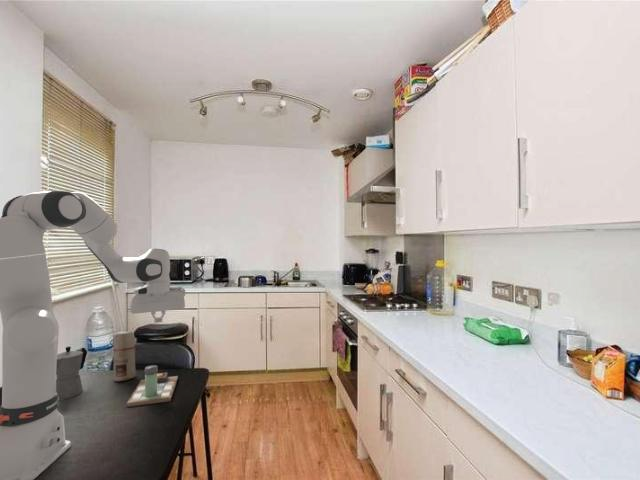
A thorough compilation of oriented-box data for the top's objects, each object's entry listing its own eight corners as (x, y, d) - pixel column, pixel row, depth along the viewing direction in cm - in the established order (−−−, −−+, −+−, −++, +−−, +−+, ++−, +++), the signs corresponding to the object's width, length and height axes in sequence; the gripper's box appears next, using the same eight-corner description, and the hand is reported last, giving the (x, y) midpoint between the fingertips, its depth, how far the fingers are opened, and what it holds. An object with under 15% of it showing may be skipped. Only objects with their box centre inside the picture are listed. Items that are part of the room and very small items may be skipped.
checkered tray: (170, 401, 120) (170, 391, 120) (126, 406, 116) (126, 397, 116) (177, 378, 141) (177, 371, 141) (141, 383, 137) (141, 375, 137)
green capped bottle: (151, 398, 119) (151, 369, 120) (142, 396, 121) (142, 368, 121) (160, 393, 123) (160, 365, 124) (151, 391, 125) (151, 364, 125)
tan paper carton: (108, 381, 140) (108, 333, 140) (124, 374, 148) (124, 328, 148) (123, 383, 137) (124, 334, 138) (140, 375, 145) (140, 329, 146)
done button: (162, 381, 135) (162, 376, 135) (152, 382, 134) (152, 377, 134) (163, 377, 138) (163, 372, 138) (154, 378, 137) (154, 374, 137)
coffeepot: (64, 402, 120) (64, 352, 121) (40, 401, 121) (40, 351, 122) (97, 385, 135) (97, 340, 136) (75, 384, 136) (75, 340, 137)
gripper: (183, 286, 145) (184, 318, 145) (129, 289, 135) (129, 324, 134) (186, 287, 140) (186, 320, 140) (130, 290, 129) (130, 326, 129)
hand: (158, 322), depth 137 cm, fingers closed
